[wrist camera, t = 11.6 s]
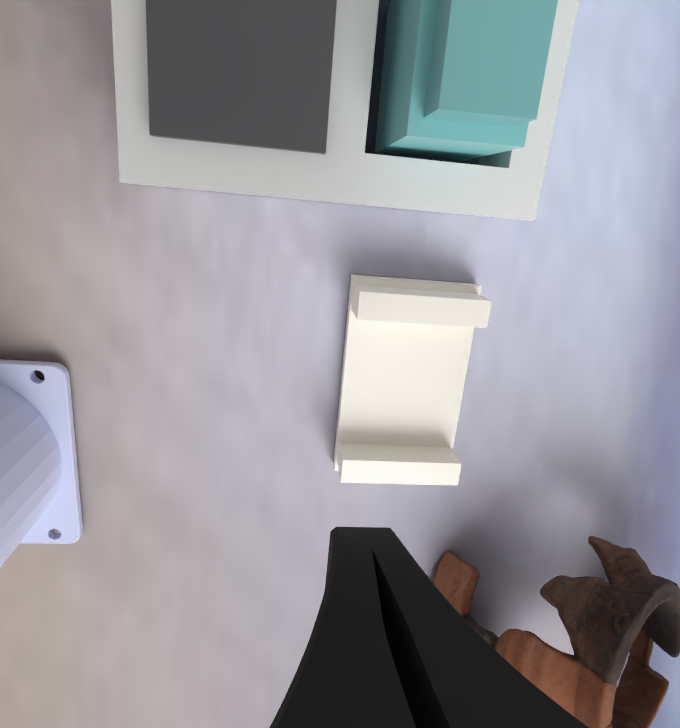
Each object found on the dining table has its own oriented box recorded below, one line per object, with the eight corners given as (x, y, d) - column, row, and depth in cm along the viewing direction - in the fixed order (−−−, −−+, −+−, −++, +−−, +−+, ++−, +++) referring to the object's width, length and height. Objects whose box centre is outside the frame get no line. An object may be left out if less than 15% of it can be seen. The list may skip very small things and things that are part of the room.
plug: (374, 153, 18) (418, 128, 11) (388, 6, 16) (446, -113, 10) (460, 161, 18) (548, 141, 12) (480, 18, 17) (592, -89, 10)
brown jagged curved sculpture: (441, 489, 23) (624, 578, 16) (548, 489, 29) (717, 555, 22) (385, 733, 23) (541, 916, 17) (501, 686, 29) (653, 808, 22)
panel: (145, 185, 17) (114, 181, 14) (135, -127, 14) (95, -214, 11) (500, 217, 19) (540, 221, 16) (550, -60, 16) (610, -120, 13)
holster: (333, 463, 21) (337, 489, 19) (351, 274, 19) (357, 282, 17) (444, 466, 22) (458, 491, 20) (475, 283, 19) (495, 292, 18)
